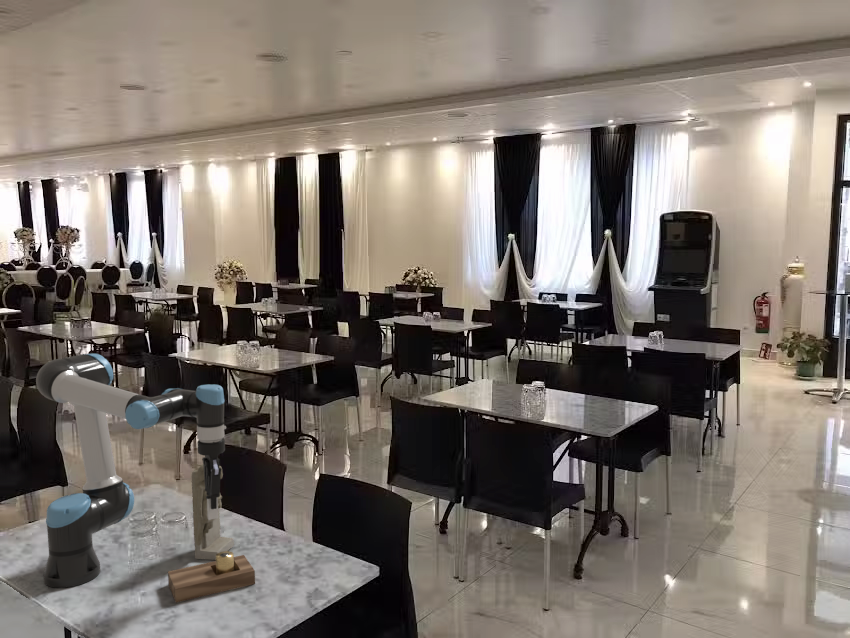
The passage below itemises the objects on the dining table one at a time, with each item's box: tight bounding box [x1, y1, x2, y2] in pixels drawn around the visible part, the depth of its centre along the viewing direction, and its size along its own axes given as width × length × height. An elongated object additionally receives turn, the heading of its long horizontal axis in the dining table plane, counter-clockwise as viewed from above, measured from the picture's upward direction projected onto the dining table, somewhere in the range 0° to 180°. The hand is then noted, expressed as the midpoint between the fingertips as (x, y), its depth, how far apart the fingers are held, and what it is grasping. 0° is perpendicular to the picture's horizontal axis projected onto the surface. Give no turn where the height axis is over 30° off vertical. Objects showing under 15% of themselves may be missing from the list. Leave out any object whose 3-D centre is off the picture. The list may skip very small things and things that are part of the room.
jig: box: [167, 554, 256, 604], centre depth 203 cm, size 12×22×4 cm, turn 119°
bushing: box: [215, 550, 235, 575], centre depth 205 cm, size 5×5×8 cm
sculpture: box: [191, 464, 235, 561], centre depth 222 cm, size 15×8×30 cm, turn 168°
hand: (212, 518), depth 203 cm, fingers closed
